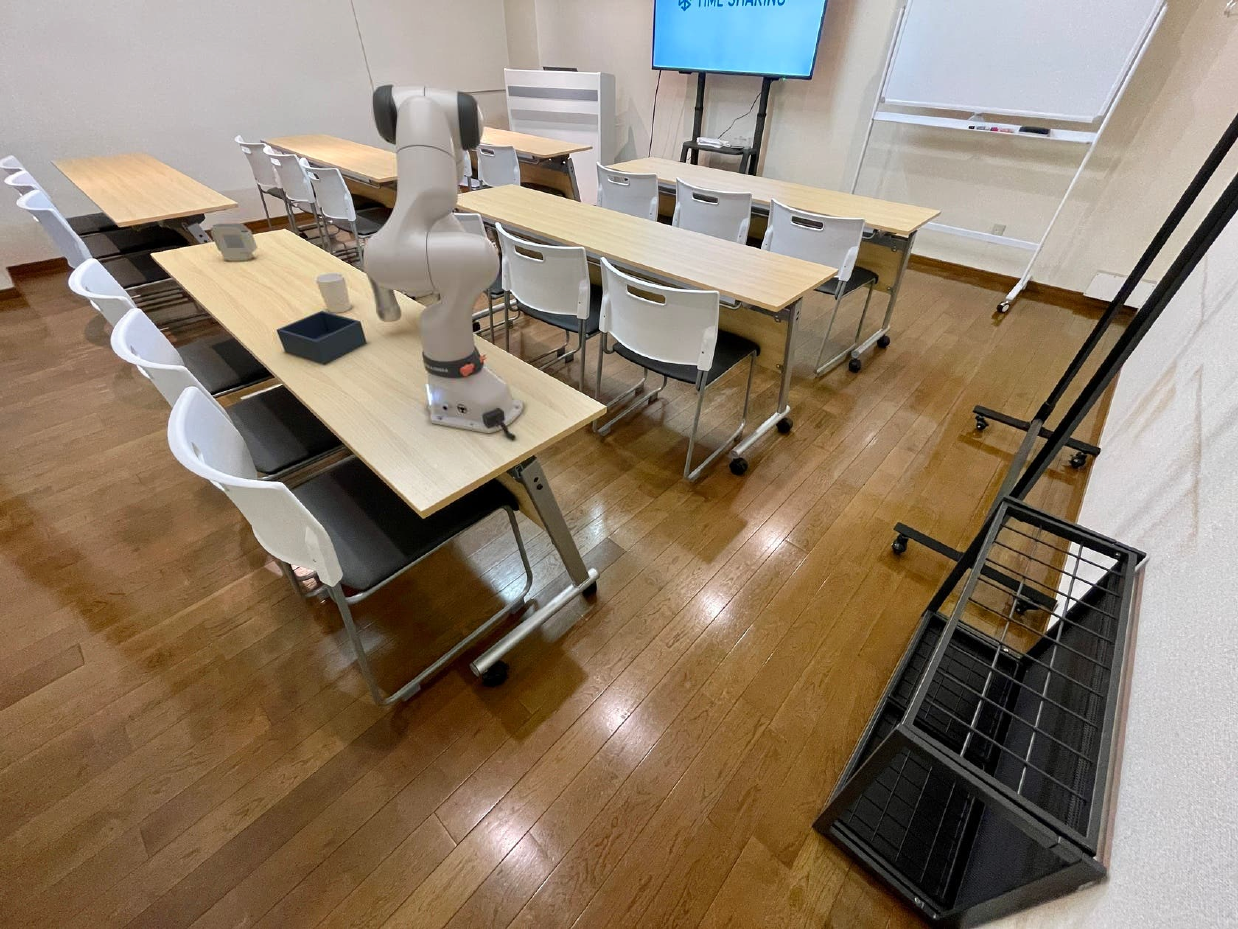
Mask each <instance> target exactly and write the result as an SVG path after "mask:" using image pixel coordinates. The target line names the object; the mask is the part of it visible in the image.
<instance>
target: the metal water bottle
mask: <svg viewBox="0 0 1238 929" xmlns="http://www.w3.org/2000/svg"><path fill="white" fill-rule="evenodd" d="M363 269H364V272H365V275H366V278H367V280H368V282H369V284H370V288H371V290H372V294H373V299H374V304H375V313H376V315H377V318H378V319H379V320H380V321H381V322H384V323H394V322H397V321H399V320H401V317H402V309H401V307H400V305H399V303H398V299H397V297H396V294H395V290H387V291H384V290H383V289H382V287H381V286H379V285H378V284H376V283H375V282H374V281H373V280H372V278H371V277H370V275H369V274H368V272H367V270H366V268H365V267H364V268H363Z"/></svg>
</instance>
